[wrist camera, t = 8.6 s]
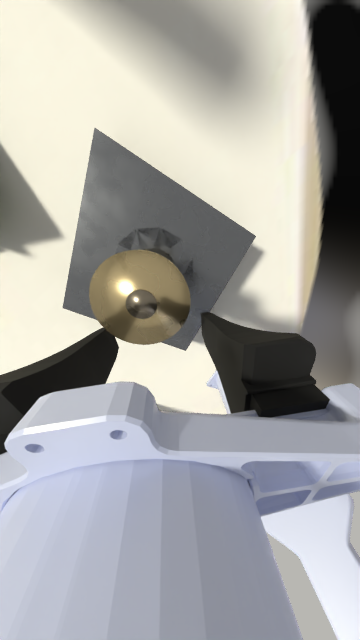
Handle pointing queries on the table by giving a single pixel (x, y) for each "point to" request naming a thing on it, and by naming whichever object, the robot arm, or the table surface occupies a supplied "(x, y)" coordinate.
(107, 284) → the round door knob
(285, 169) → the table surface
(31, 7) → the table surface
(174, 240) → the grey flat block
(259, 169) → the table surface
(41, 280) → the table surface
